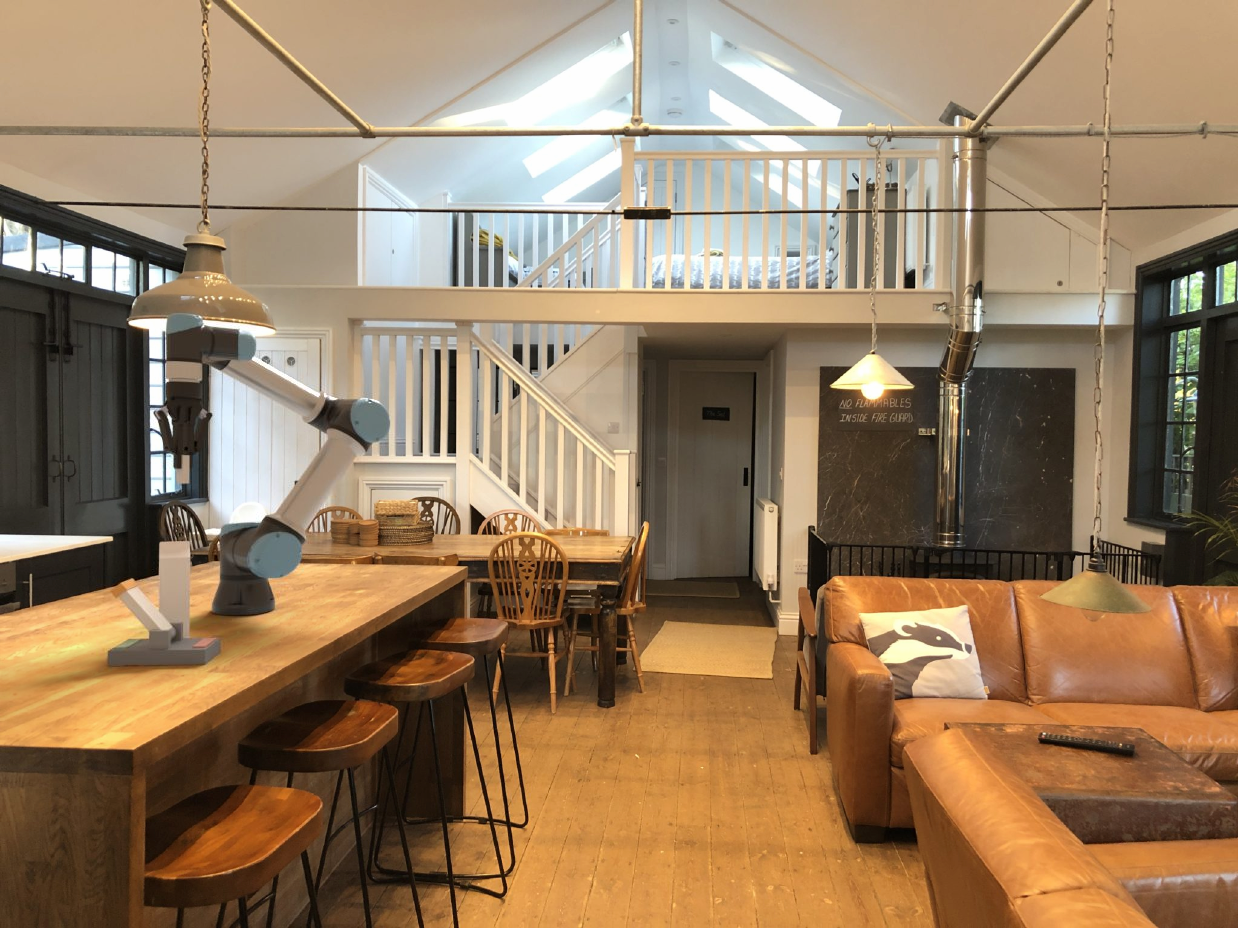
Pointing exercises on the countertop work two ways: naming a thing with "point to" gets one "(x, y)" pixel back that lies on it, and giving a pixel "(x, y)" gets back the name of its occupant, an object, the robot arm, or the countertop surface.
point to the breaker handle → (142, 607)
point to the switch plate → (165, 649)
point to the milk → (175, 582)
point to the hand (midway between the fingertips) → (182, 483)
